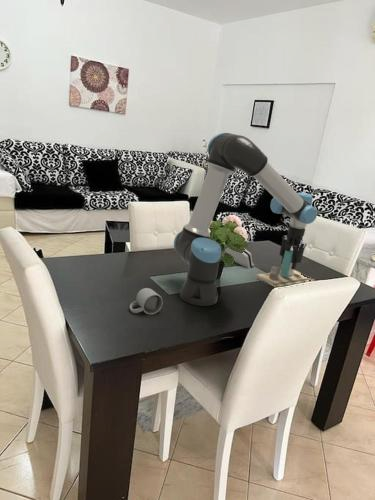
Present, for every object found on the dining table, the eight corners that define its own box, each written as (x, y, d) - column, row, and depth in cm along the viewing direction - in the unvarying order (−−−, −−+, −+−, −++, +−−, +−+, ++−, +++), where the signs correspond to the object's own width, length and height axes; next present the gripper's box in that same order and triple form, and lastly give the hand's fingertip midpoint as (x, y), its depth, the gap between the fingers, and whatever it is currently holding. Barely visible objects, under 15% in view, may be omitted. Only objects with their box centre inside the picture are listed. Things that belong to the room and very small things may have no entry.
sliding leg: (285, 278, 185) (291, 253, 181) (279, 275, 188) (285, 250, 184) (291, 277, 187) (297, 253, 183) (285, 274, 190) (291, 250, 186)
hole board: (274, 289, 175) (277, 274, 173) (253, 277, 186) (256, 263, 184) (315, 282, 191) (318, 268, 188) (293, 271, 201) (296, 258, 199)
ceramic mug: (152, 303, 146) (154, 284, 143) (162, 313, 139) (164, 293, 137) (125, 307, 140) (127, 287, 138) (134, 317, 134) (136, 297, 131)
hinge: (254, 266, 200) (254, 250, 195) (248, 271, 198) (247, 254, 192) (231, 256, 212) (230, 240, 206) (225, 259, 209) (223, 244, 204)
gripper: (317, 231, 175) (305, 279, 183) (289, 221, 189) (279, 265, 196) (306, 232, 171) (294, 280, 179) (278, 221, 184) (268, 267, 192)
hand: (286, 272), depth 187 cm, fingers closed on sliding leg, 4 cm apart
